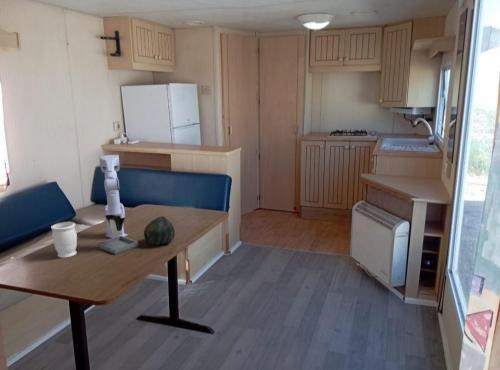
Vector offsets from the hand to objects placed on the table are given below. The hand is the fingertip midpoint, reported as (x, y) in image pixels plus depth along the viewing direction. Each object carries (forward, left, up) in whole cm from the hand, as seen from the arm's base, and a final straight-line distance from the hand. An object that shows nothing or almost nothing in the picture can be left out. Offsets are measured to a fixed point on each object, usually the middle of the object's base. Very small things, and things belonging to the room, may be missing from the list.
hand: (116, 229), depth 197 cm
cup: (0, 0, -2) cm, 3 cm away
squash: (+13, +16, -10) cm, 23 cm away
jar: (-11, -21, -10) cm, 25 cm away
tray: (0, 0, -9) cm, 9 cm away
